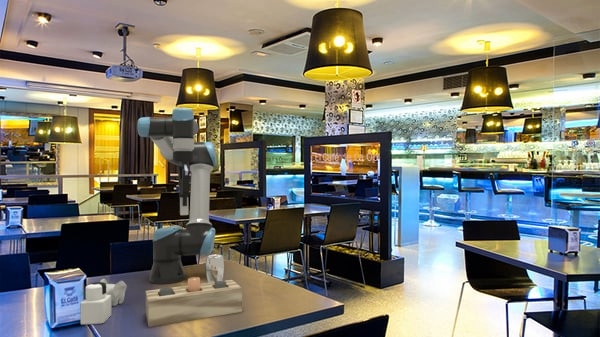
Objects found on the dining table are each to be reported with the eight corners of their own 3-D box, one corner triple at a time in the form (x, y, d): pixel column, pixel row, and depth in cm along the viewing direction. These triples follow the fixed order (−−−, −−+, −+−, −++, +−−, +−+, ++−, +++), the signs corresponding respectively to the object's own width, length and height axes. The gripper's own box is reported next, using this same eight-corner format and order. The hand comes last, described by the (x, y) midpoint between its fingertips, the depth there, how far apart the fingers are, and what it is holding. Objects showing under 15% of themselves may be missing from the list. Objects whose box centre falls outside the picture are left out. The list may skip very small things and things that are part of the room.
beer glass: (220, 298, 154) (219, 258, 154) (202, 297, 155) (202, 257, 155) (226, 292, 161) (226, 254, 161) (210, 291, 162) (210, 254, 162)
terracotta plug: (187, 300, 139) (186, 277, 139) (199, 299, 141) (198, 276, 141) (189, 304, 135) (188, 280, 135) (201, 302, 137) (201, 279, 137)
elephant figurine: (86, 308, 144) (86, 283, 144) (113, 298, 155) (113, 275, 155) (106, 311, 141) (106, 286, 141) (132, 301, 152) (132, 277, 152)
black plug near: (159, 312, 135) (159, 288, 135) (172, 310, 137) (171, 287, 137) (160, 316, 132) (160, 292, 132) (173, 314, 133) (173, 290, 133)
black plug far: (213, 304, 143) (213, 281, 143) (224, 302, 144) (224, 280, 144) (216, 307, 139) (215, 284, 139) (227, 305, 141) (227, 283, 141)
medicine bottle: (89, 316, 136) (89, 280, 136) (111, 315, 137) (111, 280, 137) (80, 324, 129) (79, 287, 129) (103, 323, 129) (102, 286, 129)
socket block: (145, 314, 137) (145, 290, 137) (232, 301, 150) (232, 279, 150) (148, 327, 126) (148, 301, 126) (242, 311, 139) (241, 288, 139)
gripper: (170, 151, 154) (171, 213, 154) (175, 149, 142) (176, 217, 142) (190, 151, 157) (191, 212, 157) (197, 150, 145) (198, 216, 145)
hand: (184, 214), depth 149 cm, fingers closed
